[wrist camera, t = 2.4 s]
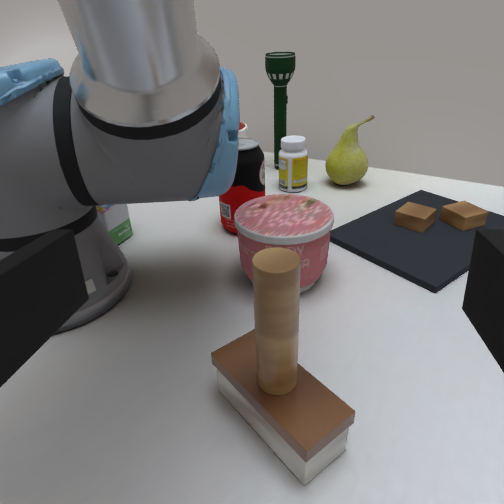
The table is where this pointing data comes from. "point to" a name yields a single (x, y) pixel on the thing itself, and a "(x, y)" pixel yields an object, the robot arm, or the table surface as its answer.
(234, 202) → the beverage can
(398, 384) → the table surface
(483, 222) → the chip
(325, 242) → the container
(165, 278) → the table surface
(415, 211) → the chip
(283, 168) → the supplement bottle
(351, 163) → the fruit
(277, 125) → the flashlight
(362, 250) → the mat
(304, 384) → the brush
